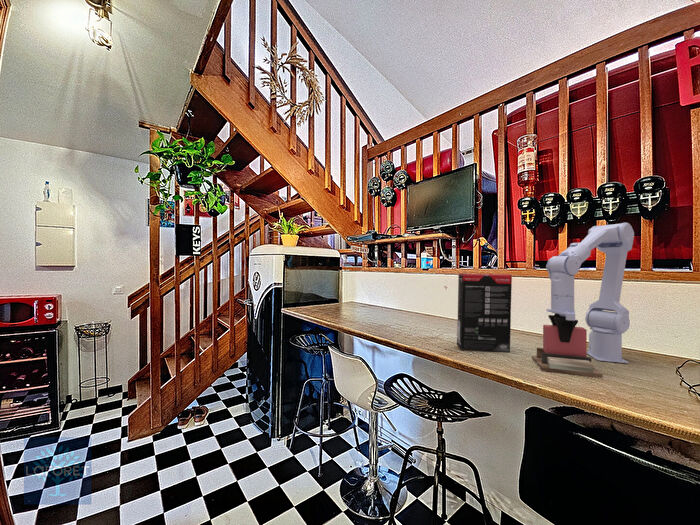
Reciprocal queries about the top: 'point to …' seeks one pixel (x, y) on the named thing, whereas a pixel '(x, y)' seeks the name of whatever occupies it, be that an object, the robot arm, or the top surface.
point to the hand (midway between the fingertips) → (562, 340)
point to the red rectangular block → (574, 347)
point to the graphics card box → (484, 312)
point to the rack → (565, 364)
